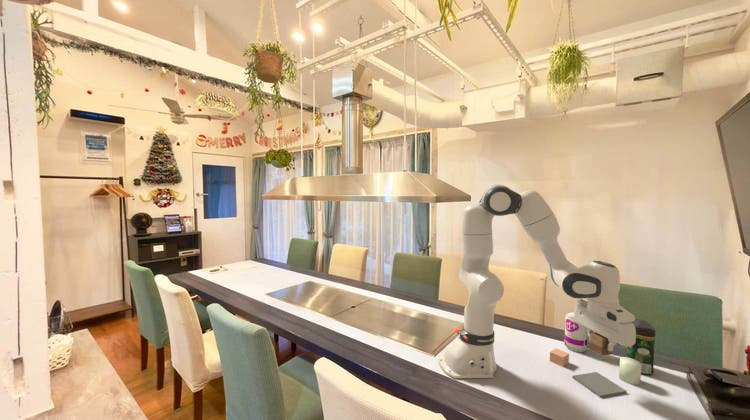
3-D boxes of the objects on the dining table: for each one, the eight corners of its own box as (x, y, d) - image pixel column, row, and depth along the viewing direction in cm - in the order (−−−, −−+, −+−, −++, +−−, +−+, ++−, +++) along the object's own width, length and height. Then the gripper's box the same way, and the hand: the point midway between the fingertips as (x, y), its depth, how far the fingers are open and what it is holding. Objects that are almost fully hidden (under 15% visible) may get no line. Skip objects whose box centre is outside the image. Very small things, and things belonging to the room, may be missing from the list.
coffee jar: (623, 359, 124) (625, 315, 123) (648, 365, 120) (651, 319, 119) (628, 371, 116) (631, 324, 115) (655, 378, 112) (658, 329, 111)
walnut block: (601, 355, 104) (602, 338, 104) (589, 349, 109) (590, 332, 108) (612, 354, 105) (612, 337, 105) (599, 347, 110) (600, 331, 109)
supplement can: (576, 354, 128) (578, 319, 127) (559, 344, 136) (561, 312, 135) (591, 351, 130) (593, 317, 129) (574, 342, 138) (575, 310, 137)
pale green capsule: (631, 386, 107) (632, 367, 107) (614, 376, 113) (615, 358, 113) (644, 384, 109) (645, 365, 108) (627, 374, 114) (628, 356, 114)
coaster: (600, 397, 101) (600, 395, 101) (572, 377, 112) (572, 375, 112) (626, 393, 104) (626, 390, 104) (596, 373, 114) (596, 371, 114)
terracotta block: (562, 367, 119) (563, 357, 119) (549, 361, 123) (549, 351, 123) (568, 363, 122) (569, 353, 121) (555, 357, 126) (555, 348, 126)
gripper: (569, 298, 115) (568, 333, 116) (624, 320, 95) (622, 362, 96) (583, 296, 117) (582, 331, 118) (640, 318, 97) (638, 360, 98)
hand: (600, 345), depth 107 cm, fingers closed on walnut block, 4 cm apart
